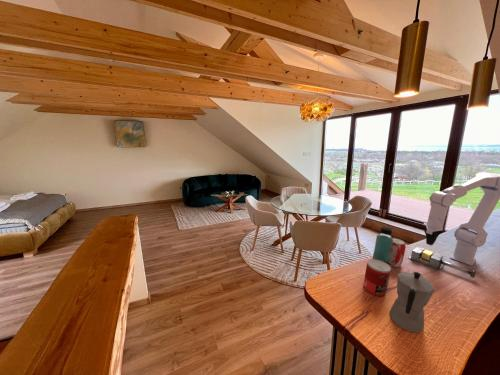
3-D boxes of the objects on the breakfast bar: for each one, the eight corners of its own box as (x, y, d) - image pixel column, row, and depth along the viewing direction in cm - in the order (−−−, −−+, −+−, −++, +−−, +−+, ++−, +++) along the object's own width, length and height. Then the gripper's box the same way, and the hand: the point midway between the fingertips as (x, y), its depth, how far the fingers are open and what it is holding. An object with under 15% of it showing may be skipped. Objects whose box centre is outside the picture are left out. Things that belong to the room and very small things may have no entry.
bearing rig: (408, 258, 106) (410, 250, 105) (413, 253, 110) (415, 245, 109) (439, 270, 96) (441, 261, 95) (444, 264, 101) (446, 256, 100)
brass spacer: (420, 260, 103) (422, 252, 102) (423, 257, 106) (425, 249, 105) (428, 263, 101) (430, 255, 100) (431, 260, 104) (433, 252, 102)
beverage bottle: (371, 270, 95) (378, 229, 90) (370, 263, 101) (377, 224, 96) (388, 275, 92) (397, 233, 87) (386, 267, 98) (394, 227, 93)
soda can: (404, 269, 97) (409, 245, 94) (387, 267, 98) (392, 243, 95) (397, 260, 103) (402, 238, 101) (381, 258, 105) (385, 236, 102)
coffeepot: (392, 302, 77) (402, 258, 73) (425, 317, 71) (438, 270, 67) (382, 328, 66) (393, 278, 62) (420, 349, 60) (436, 295, 56)
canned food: (378, 299, 78) (383, 273, 75) (358, 286, 85) (362, 261, 82) (390, 293, 82) (395, 268, 79) (370, 280, 88) (375, 257, 86)
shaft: (431, 262, 100) (432, 256, 100) (433, 260, 102) (434, 255, 101) (473, 278, 89) (475, 272, 89) (474, 276, 91) (476, 270, 91)
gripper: (430, 211, 105) (424, 236, 109) (421, 217, 97) (414, 244, 100) (449, 216, 100) (442, 242, 103) (441, 223, 91) (433, 251, 95)
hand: (429, 244), depth 101 cm, fingers closed
